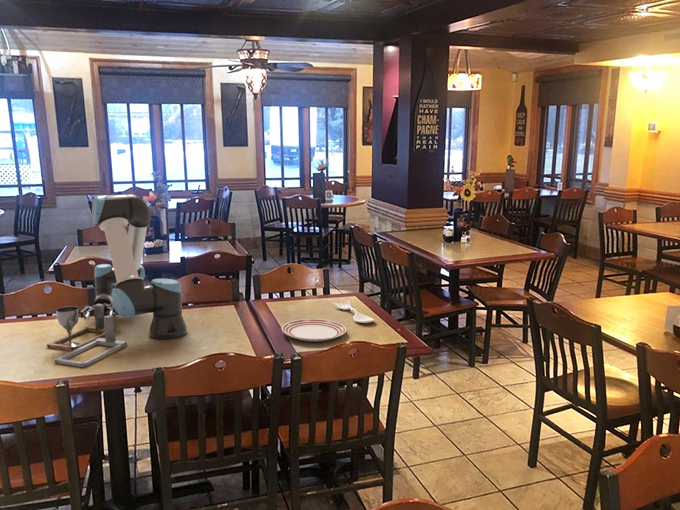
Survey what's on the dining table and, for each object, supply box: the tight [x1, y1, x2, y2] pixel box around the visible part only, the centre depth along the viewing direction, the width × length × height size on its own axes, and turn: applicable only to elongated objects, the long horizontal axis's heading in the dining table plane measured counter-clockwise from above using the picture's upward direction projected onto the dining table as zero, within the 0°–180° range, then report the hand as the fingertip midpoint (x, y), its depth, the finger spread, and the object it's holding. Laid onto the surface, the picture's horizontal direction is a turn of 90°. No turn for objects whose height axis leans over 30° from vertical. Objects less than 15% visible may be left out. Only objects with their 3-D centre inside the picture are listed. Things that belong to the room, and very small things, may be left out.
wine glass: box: [55, 305, 81, 346], centre depth 229 cm, size 8×8×15 cm
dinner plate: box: [281, 318, 347, 343], centre depth 247 cm, size 28×27×3 cm
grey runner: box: [53, 314, 128, 368], centre depth 221 cm, size 13×24×12 cm, turn 163°
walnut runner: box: [46, 304, 117, 352], centre depth 236 cm, size 13×24×12 cm, turn 163°
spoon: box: [332, 300, 375, 324], centre depth 274 cm, size 9×32×4 cm, turn 23°
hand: (98, 318), depth 241 cm, fingers open, 8 cm apart
